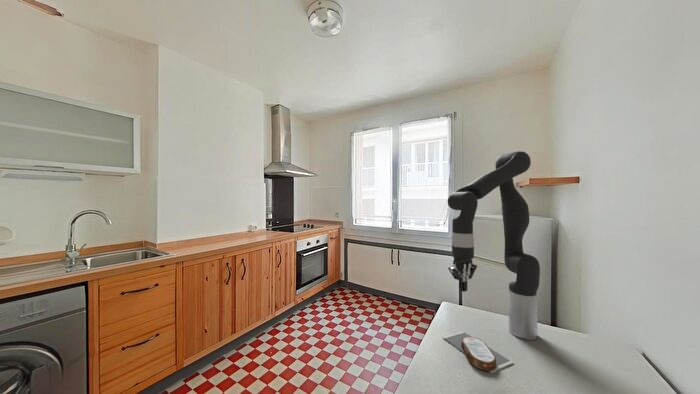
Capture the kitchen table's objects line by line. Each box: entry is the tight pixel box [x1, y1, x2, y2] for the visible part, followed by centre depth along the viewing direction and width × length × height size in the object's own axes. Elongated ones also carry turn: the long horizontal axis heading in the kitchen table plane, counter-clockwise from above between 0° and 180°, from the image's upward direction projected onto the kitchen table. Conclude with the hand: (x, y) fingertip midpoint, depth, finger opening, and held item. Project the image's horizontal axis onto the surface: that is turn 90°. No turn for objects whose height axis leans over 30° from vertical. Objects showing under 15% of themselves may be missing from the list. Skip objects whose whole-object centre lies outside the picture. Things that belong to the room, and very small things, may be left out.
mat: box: [443, 331, 514, 374], centre depth 86 cm, size 11×20×1 cm, turn 23°
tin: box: [461, 336, 496, 372], centre depth 82 cm, size 15×3×8 cm
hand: (463, 290), depth 88 cm, fingers closed
